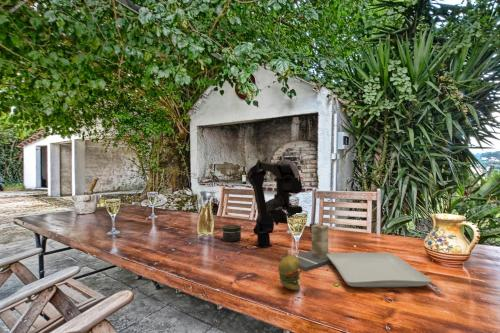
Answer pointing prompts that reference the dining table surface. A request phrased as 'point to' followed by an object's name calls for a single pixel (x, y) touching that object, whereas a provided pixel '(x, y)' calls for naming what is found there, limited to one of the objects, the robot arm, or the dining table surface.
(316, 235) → the birch post
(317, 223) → the cup
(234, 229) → the jar
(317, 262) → the charcoal board
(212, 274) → the dining table surface
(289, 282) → the hamburger
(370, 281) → the square plate
